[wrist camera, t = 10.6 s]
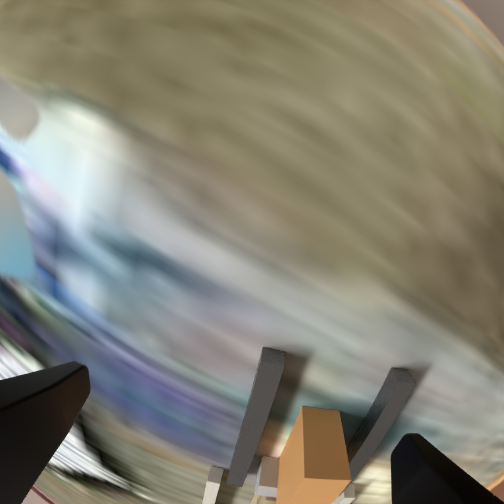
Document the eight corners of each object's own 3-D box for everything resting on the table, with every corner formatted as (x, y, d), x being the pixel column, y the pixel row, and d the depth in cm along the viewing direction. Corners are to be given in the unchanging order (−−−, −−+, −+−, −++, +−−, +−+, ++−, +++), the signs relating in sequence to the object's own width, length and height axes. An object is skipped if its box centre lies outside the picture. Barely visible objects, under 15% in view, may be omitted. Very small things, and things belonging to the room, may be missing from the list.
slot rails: (407, 369, 19) (415, 383, 17) (338, 483, 22) (339, 496, 20) (262, 347, 19) (260, 361, 18) (228, 470, 23) (225, 483, 21)
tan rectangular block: (356, 412, 20) (373, 479, 13) (320, 473, 22) (323, 531, 15) (282, 403, 20) (279, 475, 13) (258, 466, 22) (249, 526, 15)
